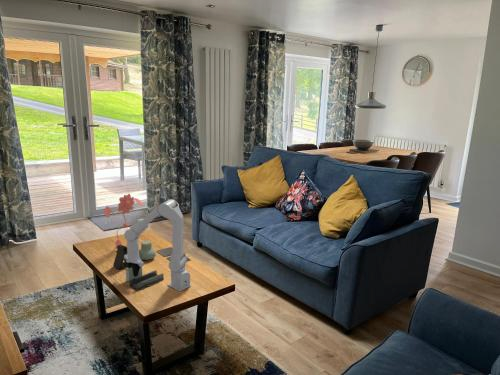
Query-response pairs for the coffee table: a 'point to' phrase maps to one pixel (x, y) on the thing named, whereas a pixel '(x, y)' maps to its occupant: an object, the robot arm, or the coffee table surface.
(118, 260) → the phone stand
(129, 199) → the figurine
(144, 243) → the air freshener
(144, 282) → the floor track
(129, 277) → the door panel
